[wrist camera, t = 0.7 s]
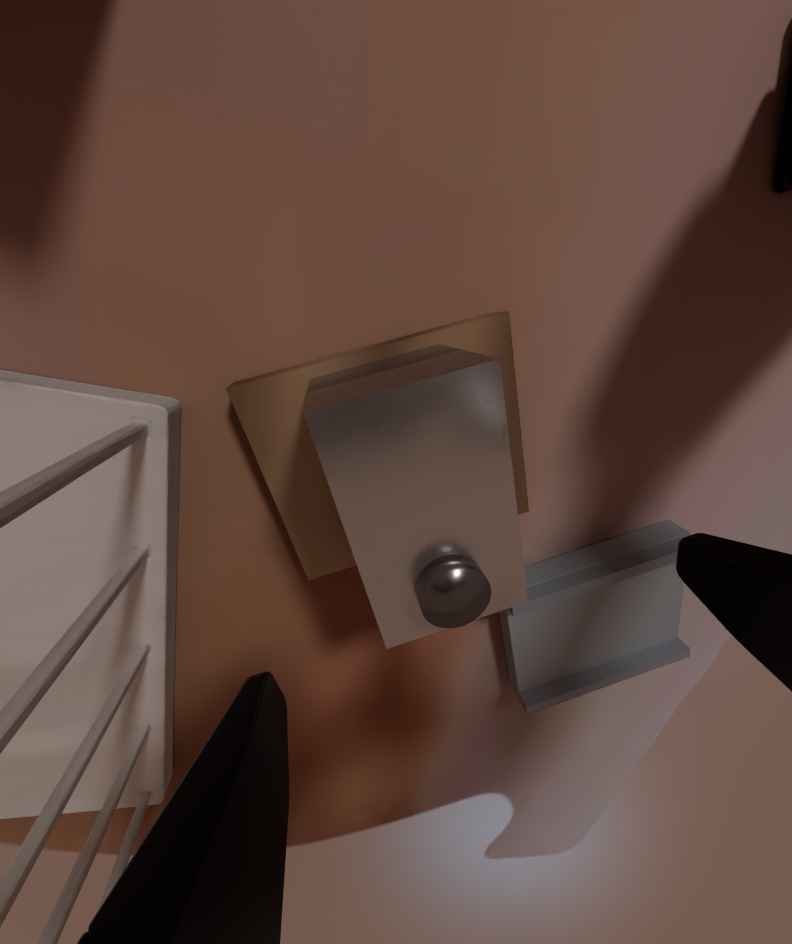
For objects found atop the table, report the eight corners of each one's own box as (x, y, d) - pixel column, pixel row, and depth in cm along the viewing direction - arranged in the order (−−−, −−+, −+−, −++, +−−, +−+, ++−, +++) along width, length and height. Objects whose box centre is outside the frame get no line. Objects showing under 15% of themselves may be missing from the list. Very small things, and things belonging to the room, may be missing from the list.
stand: (493, 312, 17) (508, 311, 16) (515, 498, 21) (528, 511, 20) (233, 382, 16) (226, 388, 15) (309, 562, 20) (308, 580, 19)
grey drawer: (437, 344, 16) (513, 361, 9) (469, 521, 19) (539, 617, 13) (309, 378, 15) (302, 421, 9) (367, 553, 19) (390, 667, 13)
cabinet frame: (668, 520, 24) (705, 541, 22) (659, 630, 28) (688, 657, 26) (493, 577, 23) (512, 605, 21) (510, 682, 27) (527, 715, 25)
